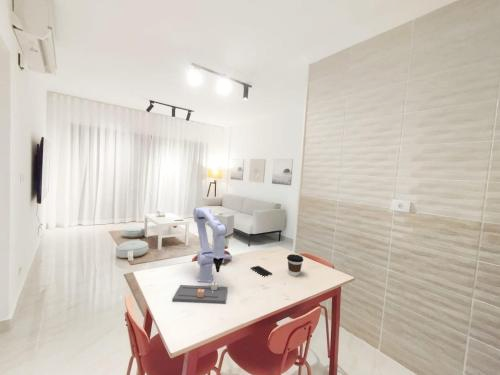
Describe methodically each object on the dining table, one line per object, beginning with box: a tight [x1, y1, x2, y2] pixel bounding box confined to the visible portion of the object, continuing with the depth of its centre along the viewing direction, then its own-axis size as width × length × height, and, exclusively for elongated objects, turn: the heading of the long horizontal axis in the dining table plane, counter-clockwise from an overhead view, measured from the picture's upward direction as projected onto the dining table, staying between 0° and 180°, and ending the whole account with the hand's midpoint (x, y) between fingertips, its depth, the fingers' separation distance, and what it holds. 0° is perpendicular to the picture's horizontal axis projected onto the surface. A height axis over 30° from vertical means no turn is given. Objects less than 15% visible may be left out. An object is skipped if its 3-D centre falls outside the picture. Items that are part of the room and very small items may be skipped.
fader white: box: [210, 281, 219, 290], centre depth 123 cm, size 3×3×3 cm
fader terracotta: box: [197, 289, 204, 298], centre depth 115 cm, size 3×3×3 cm
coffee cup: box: [286, 253, 304, 277], centre depth 152 cm, size 11×11×12 cm
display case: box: [211, 212, 235, 267], centre depth 166 cm, size 11×11×35 cm
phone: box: [250, 265, 273, 278], centre depth 153 cm, size 8×1×15 cm
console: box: [172, 284, 229, 305], centre depth 119 cm, size 14×26×2 cm, turn 92°
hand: (217, 271), depth 125 cm, fingers closed
